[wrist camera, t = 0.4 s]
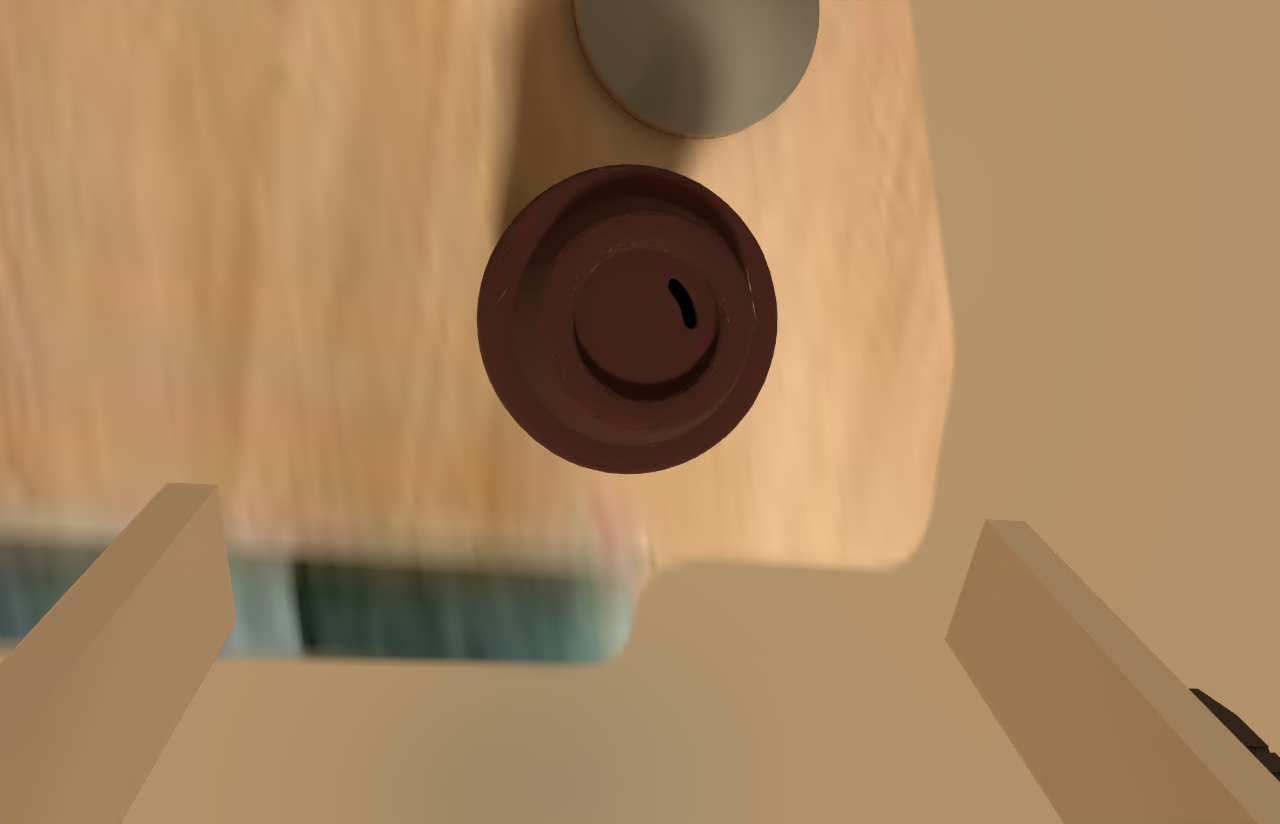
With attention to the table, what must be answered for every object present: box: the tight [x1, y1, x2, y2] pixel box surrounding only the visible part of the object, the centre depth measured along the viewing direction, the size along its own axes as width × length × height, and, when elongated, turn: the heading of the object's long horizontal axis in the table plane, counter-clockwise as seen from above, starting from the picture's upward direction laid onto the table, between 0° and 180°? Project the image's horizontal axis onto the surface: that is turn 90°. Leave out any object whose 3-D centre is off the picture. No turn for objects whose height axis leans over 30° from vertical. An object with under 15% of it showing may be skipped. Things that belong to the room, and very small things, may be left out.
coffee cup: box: [477, 164, 777, 474], centre depth 31 cm, size 10×10×15 cm
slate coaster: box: [572, 0, 819, 139], centre depth 37 cm, size 12×12×1 cm
